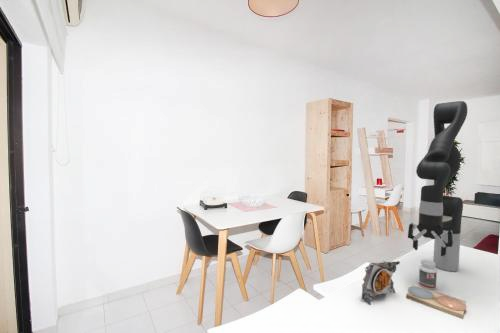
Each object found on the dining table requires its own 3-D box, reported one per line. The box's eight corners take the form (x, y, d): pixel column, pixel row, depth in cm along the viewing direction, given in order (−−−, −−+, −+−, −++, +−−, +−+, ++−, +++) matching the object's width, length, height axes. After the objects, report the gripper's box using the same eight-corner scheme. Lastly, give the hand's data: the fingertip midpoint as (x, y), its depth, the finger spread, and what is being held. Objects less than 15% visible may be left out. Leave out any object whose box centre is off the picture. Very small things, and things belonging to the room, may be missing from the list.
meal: (371, 306, 87) (372, 270, 86) (361, 299, 91) (362, 265, 90) (399, 295, 93) (400, 261, 92) (388, 289, 97) (389, 257, 96)
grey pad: (410, 284, 98) (410, 283, 98) (435, 292, 93) (435, 292, 93) (405, 293, 92) (405, 292, 92) (431, 302, 87) (431, 301, 87)
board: (412, 287, 99) (412, 284, 99) (465, 304, 87) (465, 301, 87) (406, 297, 92) (406, 294, 91) (462, 318, 80) (463, 315, 80)
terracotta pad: (438, 293, 92) (438, 293, 92) (467, 303, 86) (467, 302, 86) (435, 303, 86) (435, 302, 86) (465, 314, 81) (465, 313, 81)
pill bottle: (439, 290, 96) (440, 266, 95) (422, 289, 97) (423, 264, 96) (431, 282, 102) (432, 259, 101) (416, 281, 103) (417, 258, 102)
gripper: (455, 214, 95) (452, 255, 96) (411, 207, 105) (410, 245, 106) (452, 217, 89) (450, 261, 91) (407, 210, 99) (405, 250, 101)
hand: (428, 252), depth 98 cm, fingers open, 8 cm apart
